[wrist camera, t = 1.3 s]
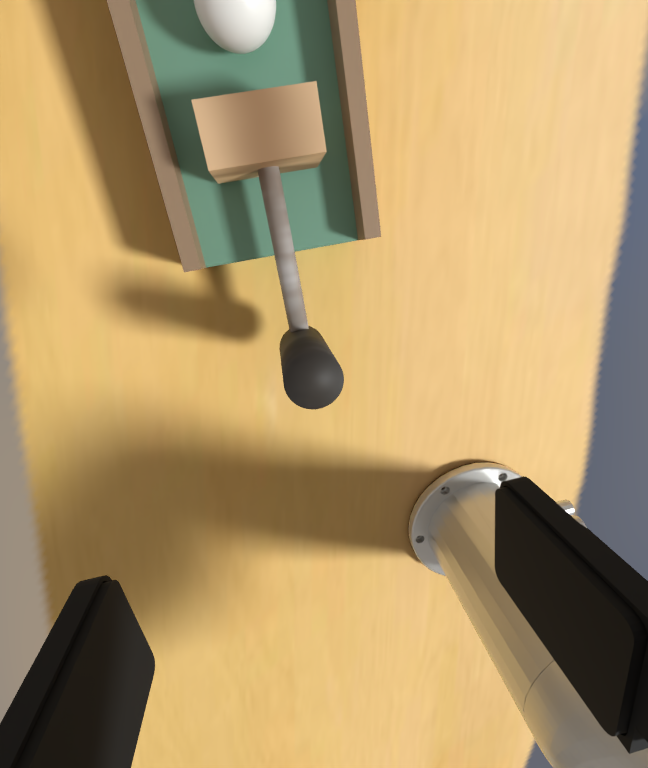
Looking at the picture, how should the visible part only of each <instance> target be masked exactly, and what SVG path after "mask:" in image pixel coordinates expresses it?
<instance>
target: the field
mask: <svg viewBox="0 0 648 768" xmlns="http://www.w3.org/2000/svg"><path fill="white" fill-rule="evenodd" d="M107 3H108V7H109V10H110V14H111V17H112V21H113V24H114V28H115V31H116V35H117V38H118V42H119V45H120V49H121V52H122V56H123V59H124V63H125V66H126V70H127V73H128V77H129V80H130V84H131V87H132V91H133V94H134V98H135V101H136V105H137V108H138V112H139V115H140V119H141V122H142V126H143V129H144V133H145V136H146V140H147V143H148V147H149V150H150V154H151V157H152V161H153V164H154V168H155V172H156V175H157V179H158V182H159V186H160V189H161V193H162V196H163V200H164V203H165V207H166V210H167V214H168V217H169V221H170V224H171V228H172V231H173V235H174V238H175V242H176V245H177V249H178V252H179V256H180V259H181V263H182V266H183V270H184V272H188V271H194V270H199V269H203V268H207V267H212V266H218V265H223V264H229V263H234V262H240V261H245V260H251V259H256V258H262V257H267V256H273V255H274V250H273V245H272V240H271V235H270V230H269V225H268V220H267V215H266V211H265V206H264V201H263V196H262V191H261V186H260V181H259V177H256V178H250V179H244V180H238V181H232V182H226V183H220V184H218V183H217V181H216V180H215V179H214V178H213V176H212V175H211V174H210V172H209V171H208V167H207V163H206V158H205V154H204V150H203V146H202V142H201V138H200V134H199V130H198V125H197V121H196V117H195V113H194V109H193V105H192V101H191V100H193V99H200V98H206V97H213V96H220V95H226V94H233V93H240V92H246V91H253V90H260V89H266V88H273V87H280V86H286V85H293V84H300V83H306V82H313V81H317V88H318V95H319V102H320V109H321V116H322V123H323V130H324V137H325V144H326V151H327V152H326V154H325V155H324V157H323V159H322V160H321V162H320V164H319V165H318V167H316V168H310V169H304V170H298V171H292V172H286V173H280V175H281V181H282V186H283V192H284V197H285V203H286V208H287V213H288V219H289V224H290V230H291V235H292V240H293V246H294V251H301V250H306V249H312V248H317V247H323V246H328V245H334V244H339V243H345V242H350V241H356V240H364V239H370V238H375V237H381V231H380V222H379V213H378V203H377V194H376V185H375V176H374V167H373V158H372V148H371V139H370V130H369V121H368V112H367V102H366V93H365V84H364V75H363V66H362V57H361V47H360V38H359V29H358V20H357V11H356V1H355V0H276V15H275V21H274V25H273V28H272V30H271V33H270V35H269V37H268V38H267V40H266V41H265V42H264V43H263V45H261V46H260V47H259V48H258V49H256V50H254V51H252V52H250V53H246V54H236V53H232V52H229V51H227V50H225V49H223V48H221V47H220V46H219V45H217V44H216V43H215V42H214V41H213V40H212V39H211V38H210V37H209V35H208V34H207V33H206V31H205V30H204V28H203V26H202V24H201V22H200V20H199V18H198V15H197V13H196V9H195V5H194V0H107Z"/></svg>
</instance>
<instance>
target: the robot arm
mask: <svg viewBox="0 0 648 768" xmlns="http://www.w3.org/2000/svg"><path fill="white" fill-rule="evenodd" d="M571 515H574V507H573V505H572V504H571V502H570V501H568V500H563V501H559V502H555V501H554V500H553V499H552V498H550V497H549V496H548V495H547V494H546V493H545V492H544V491H543V490H541V489H540V488H539V487H538V486H537V485H536V484H535V483H533V482H532V481H531V480H530V479H529V478H527V477H524V476H523V477H522V476H521V475H520V474H518V473H517V472H516V471H514V470H512V469H511V468H509V467H506V466H503V465H501V464H496V463H488V462H486V463H473V464H469V465H464V466H461V467H459V468H456V469H454V470H451V471H449V472H448V473H446V474H444V475H443V476H441V477H439V478H438V479H437V480H436V481H434V482H433V483H432V484H431V485H430V486H429V487H428V488H427V489H426V490H425V491H424V492H423V493H422V494H421V496H420V497H419V499H418V501H417V502H416V504H415V505H414V508H413V510H412V513H411V516H410V520H409V526H408V529H409V539H410V542H411V545H412V548H413V550H414V552H415V554H416V556H417V557H418V559H419V560H420V561H421V562H422V564H423V565H425V566H426V567H427V568H428V569H430V570H431V571H434V572H436V573H438V574H440V575H444V576H446V577H447V578H448V580H449V582H450V584H451V586H452V588H453V589H454V591H455V593H456V595H457V597H458V599H459V601H460V602H461V604H462V606H463V608H464V610H465V612H466V613H467V615H468V617H469V619H470V621H471V623H472V624H473V626H474V628H475V630H476V632H477V634H478V635H479V637H480V639H481V641H482V643H483V645H484V646H485V648H486V650H487V652H488V654H489V656H490V657H491V659H492V661H493V663H494V665H495V667H496V668H497V670H498V672H499V674H500V676H501V678H502V679H503V681H504V683H505V685H506V687H507V689H508V690H509V692H510V694H511V696H512V698H513V700H514V701H515V703H516V705H517V707H518V709H519V711H520V712H521V714H522V716H523V718H524V720H525V722H526V724H527V726H528V727H529V729H530V731H531V733H532V735H533V737H534V738H535V740H536V742H537V744H538V745H539V747H540V749H541V751H542V752H543V754H544V755H545V757H546V758H547V760H548V761H549V763H550V764H551V765H552V766H553V768H648V581H647V580H646V579H645V578H643V577H642V576H641V575H640V574H639V573H638V572H636V571H635V570H634V569H633V568H632V567H631V566H630V565H629V564H627V563H626V562H625V561H624V560H623V559H622V558H621V557H620V556H618V555H617V554H616V553H615V552H614V551H613V550H611V549H610V548H609V547H608V546H607V545H606V544H605V543H604V542H602V541H601V540H600V539H599V538H598V537H597V536H595V535H594V534H593V533H592V532H591V531H590V530H589V529H588V528H586V526H585V524H584V522H583V521H582V520H581V518H579V517H578V516H571ZM154 670H155V660H154V656H153V653H152V651H151V649H150V647H149V645H148V642H147V640H146V638H145V636H144V634H143V632H142V630H141V628H140V626H139V624H138V622H137V619H136V617H135V615H134V613H133V611H132V609H131V607H130V605H129V603H128V601H127V598H126V596H125V594H124V592H123V590H122V588H121V586H120V584H119V582H118V581H117V580H113V581H112V580H111V579H110V577H108V576H101V577H97V578H92V579H88V580H84V581H80V582H79V583H77V584H76V586H75V587H74V589H73V590H72V592H71V594H70V596H69V598H68V600H67V602H66V603H65V605H64V607H63V609H62V611H61V613H60V615H59V616H58V618H57V620H56V622H55V624H54V626H53V627H52V629H51V631H50V633H49V635H48V637H47V639H46V640H45V642H44V644H43V646H42V648H41V650H40V652H39V654H38V656H37V657H36V659H35V661H34V663H33V665H32V667H31V668H30V670H29V672H28V674H27V675H26V677H25V679H24V681H23V683H22V685H21V687H20V688H19V690H18V692H17V694H16V696H15V698H14V700H13V701H12V703H11V705H10V707H9V709H8V711H7V712H6V714H5V716H4V718H3V720H2V722H1V723H0V768H131V765H132V761H133V757H134V753H135V749H136V744H137V740H138V736H139V732H140V728H141V724H142V720H143V716H144V712H145V708H146V704H147V700H148V696H149V692H150V688H151V684H152V680H153V676H154Z"/></svg>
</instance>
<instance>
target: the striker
mask: <svg viewBox="0 0 648 768" xmlns="http://www.w3.org/2000/svg"><path fill="white" fill-rule="evenodd" d="M191 101H192V105H193V109H194V113H195V117H196V121H197V125H198V130H199V134H200V138H201V142H202V146H203V150H204V154H205V158H206V163H207V167H208V171H209V172H210V174H211V175H212V176H213V178H214V179H215V180H216V181H217V183H218V184H220V183H226V182H232V181H238V180H244V179H250V178H256V177H259V181H260V186H261V191H262V196H263V201H264V206H265V211H266V215H267V220H268V225H269V230H270V235H271V240H272V245H273V250H274V255H275V260H276V265H277V270H278V275H279V280H280V285H281V290H282V294H283V299H284V304H285V309H286V314H287V319H288V324H289V330H288V331H287V332H286V333H285V334H284V335H283V337H282V339H281V342H280V356H281V365H282V373H283V382H284V388H285V391H286V394H287V395H288V397H289V398H290V400H291V401H292V402H294V403H295V404H296V405H298V406H300V407H303V408H306V409H319V408H323V407H325V406H327V405H329V404H331V403H332V402H333V401H334V400H335V399H336V398H337V397H338V396H339V394H340V392H341V390H342V388H343V383H344V376H343V371H342V369H341V367H340V365H339V363H338V362H337V360H336V358H335V357H334V355H333V354H332V352H331V350H330V349H329V347H328V345H327V344H326V342H325V341H324V339H323V337H322V336H321V334H320V333H319V332H318V331H317V330H316V329H314V328H312V327H310V326H308V322H307V316H306V311H305V305H304V300H303V295H302V289H301V284H300V278H299V273H298V267H297V262H296V257H295V251H294V246H293V240H292V235H291V230H290V224H289V219H288V213H287V208H286V203H285V197H284V192H283V186H282V181H281V175H280V173H286V172H292V171H298V170H304V169H310V168H316V167H318V165H319V164H320V162H321V160H322V159H323V157H324V155H325V154H326V152H327V151H326V144H325V137H324V130H323V123H322V116H321V109H320V102H319V95H318V88H317V81H313V82H306V83H300V84H293V85H286V86H280V87H273V88H266V89H260V90H253V91H246V92H240V93H233V94H226V95H220V96H213V97H206V98H200V99H193V100H191Z"/></svg>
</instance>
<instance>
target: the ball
mask: <svg viewBox="0 0 648 768" xmlns="http://www.w3.org/2000/svg"><path fill="white" fill-rule="evenodd" d="M194 5H195V9H196V13H197V15H198V18H199V20H200V22H201V24H202V26H203V28H204V30H205V31H206V33H207V34H208V35H209V37H210V38H211V39H212V40H213V41H214V42H215V43H216V44H217V45H219V46H220V47H221V48H223V49H225V50H227V51H229V52H232V53H236V54H246V53H250V52H252V51H254V50H256V49H258V48H259V47H260V46H261V45H263V43H264V42H265V41H266V40H267V38H268V37H269V35H270V33H271V30H272V28H273V25H274V21H275V15H276V0H194Z"/></svg>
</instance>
